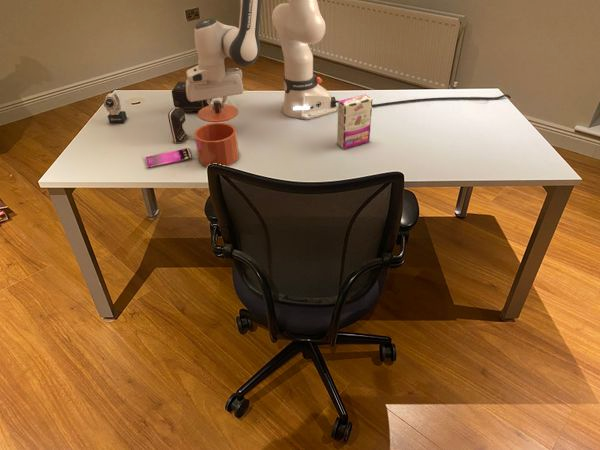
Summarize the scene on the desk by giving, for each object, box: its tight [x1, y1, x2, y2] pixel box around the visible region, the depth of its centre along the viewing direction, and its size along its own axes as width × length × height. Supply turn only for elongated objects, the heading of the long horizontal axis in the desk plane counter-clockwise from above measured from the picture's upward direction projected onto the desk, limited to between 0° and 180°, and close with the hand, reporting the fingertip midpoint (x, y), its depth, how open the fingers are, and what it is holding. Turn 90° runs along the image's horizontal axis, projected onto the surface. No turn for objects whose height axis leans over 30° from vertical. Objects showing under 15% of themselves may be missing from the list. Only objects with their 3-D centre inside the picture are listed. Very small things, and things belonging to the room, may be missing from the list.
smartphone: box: [145, 147, 193, 169], centre depth 150 cm, size 7×15×1 cm, turn 111°
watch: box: [102, 92, 128, 124], centre depth 171 cm, size 6×8×11 cm
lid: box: [197, 100, 239, 123], centre depth 160 cm, size 15×15×5 cm
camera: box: [171, 81, 213, 113], centre depth 177 cm, size 11×11×15 cm
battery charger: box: [167, 107, 187, 144], centre depth 158 cm, size 7×4×11 cm, turn 171°
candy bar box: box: [336, 94, 373, 150], centre depth 152 cm, size 11×5×16 cm, turn 117°
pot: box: [193, 122, 240, 167], centre depth 148 cm, size 14×14×10 cm
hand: (217, 108), depth 160 cm, fingers closed on lid, 2 cm apart
